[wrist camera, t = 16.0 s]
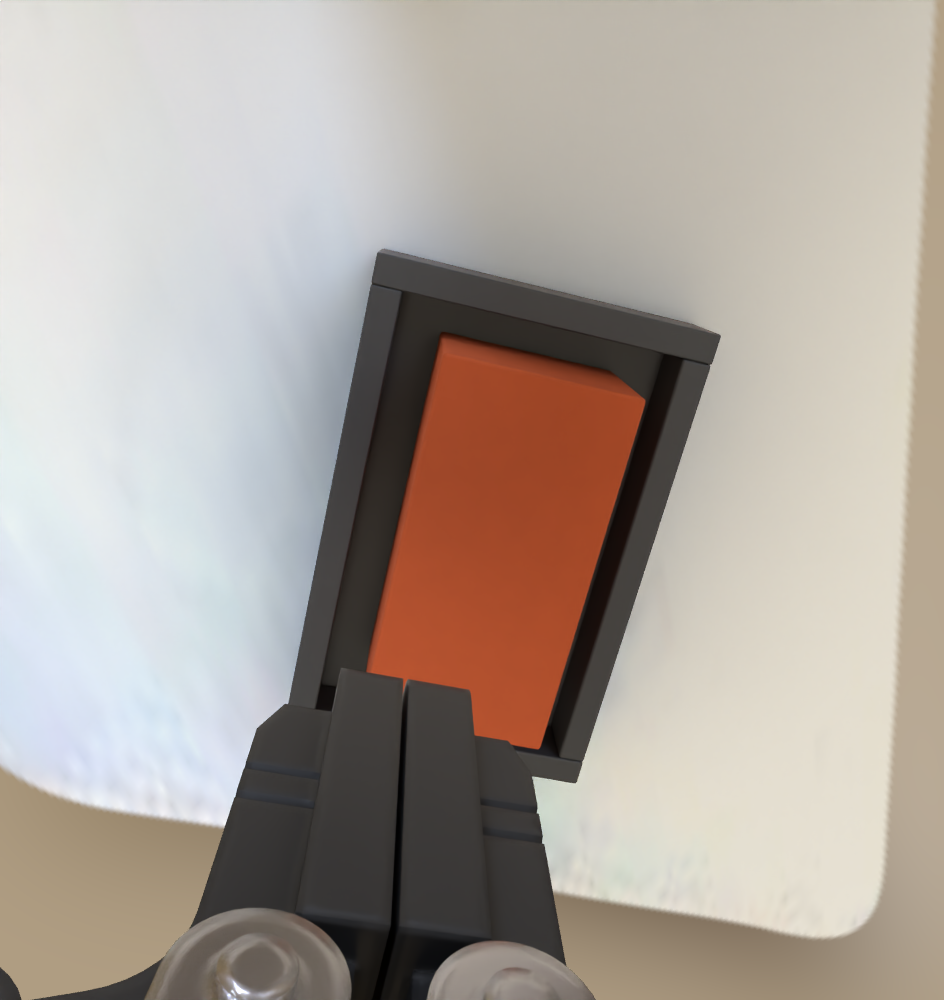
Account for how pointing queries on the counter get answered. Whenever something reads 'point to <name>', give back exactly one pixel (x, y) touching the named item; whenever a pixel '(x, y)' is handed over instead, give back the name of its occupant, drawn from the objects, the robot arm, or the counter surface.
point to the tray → (391, 440)
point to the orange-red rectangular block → (502, 528)
